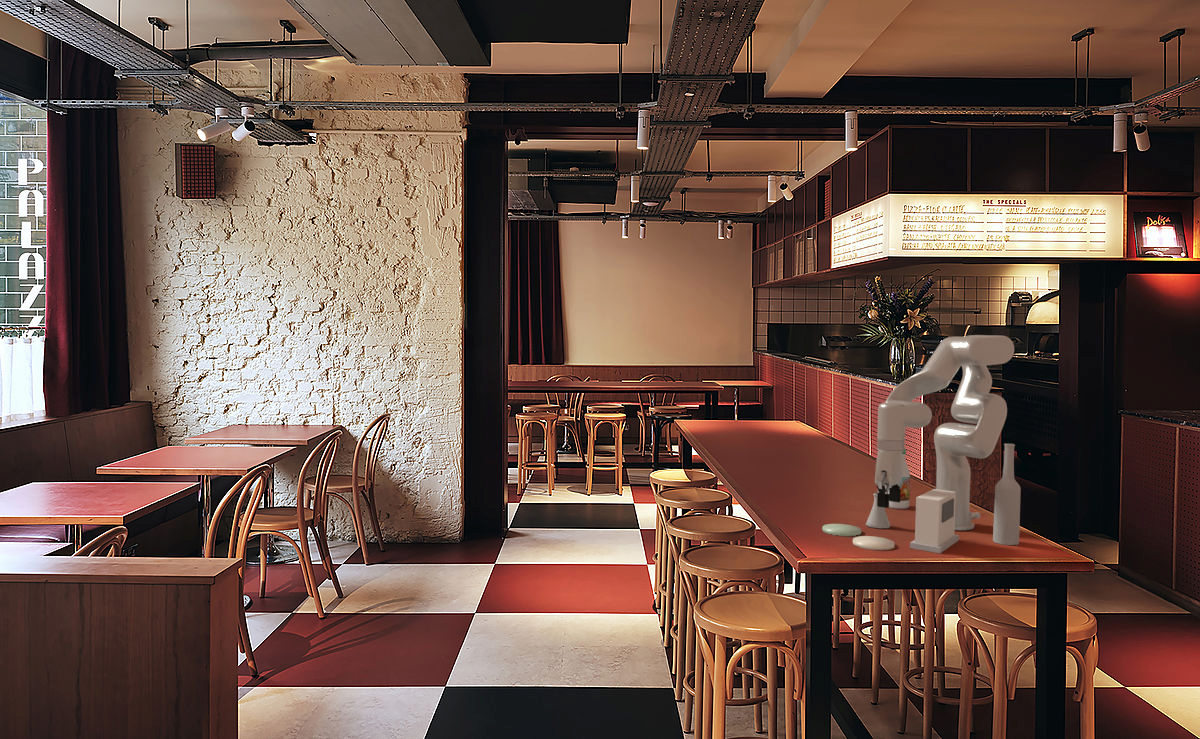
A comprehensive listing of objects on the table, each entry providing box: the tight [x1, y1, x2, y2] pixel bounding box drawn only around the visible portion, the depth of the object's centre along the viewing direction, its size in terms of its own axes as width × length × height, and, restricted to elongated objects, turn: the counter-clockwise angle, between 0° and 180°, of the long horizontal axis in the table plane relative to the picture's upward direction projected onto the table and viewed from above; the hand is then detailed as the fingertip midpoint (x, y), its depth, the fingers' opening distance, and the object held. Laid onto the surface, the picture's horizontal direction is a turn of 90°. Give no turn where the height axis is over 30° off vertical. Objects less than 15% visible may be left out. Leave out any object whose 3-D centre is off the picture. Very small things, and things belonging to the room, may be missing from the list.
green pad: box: [821, 523, 862, 537], centre depth 237 cm, size 11×11×1 cm
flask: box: [865, 492, 891, 529], centre depth 244 cm, size 7×7×10 cm
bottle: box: [992, 443, 1022, 546], centre depth 226 cm, size 7×7×28 cm
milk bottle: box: [888, 448, 911, 510], centre depth 271 cm, size 8×8×20 cm
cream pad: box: [852, 535, 895, 551], centre depth 223 cm, size 11×11×1 cm
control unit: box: [909, 488, 960, 554], centre depth 224 cm, size 8×18×14 cm, turn 141°
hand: (888, 504), depth 232 cm, fingers open, 9 cm apart
